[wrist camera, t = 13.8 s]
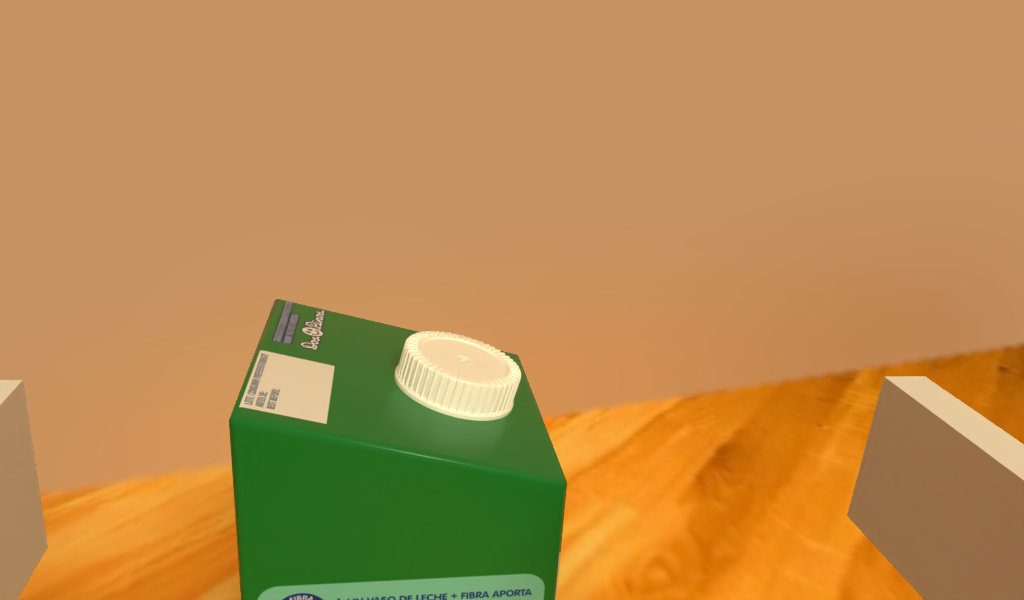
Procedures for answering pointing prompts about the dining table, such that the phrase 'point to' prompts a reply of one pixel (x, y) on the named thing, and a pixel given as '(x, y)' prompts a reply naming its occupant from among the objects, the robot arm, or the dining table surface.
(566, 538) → the dining table surface
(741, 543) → the dining table surface
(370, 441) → the milk carton
